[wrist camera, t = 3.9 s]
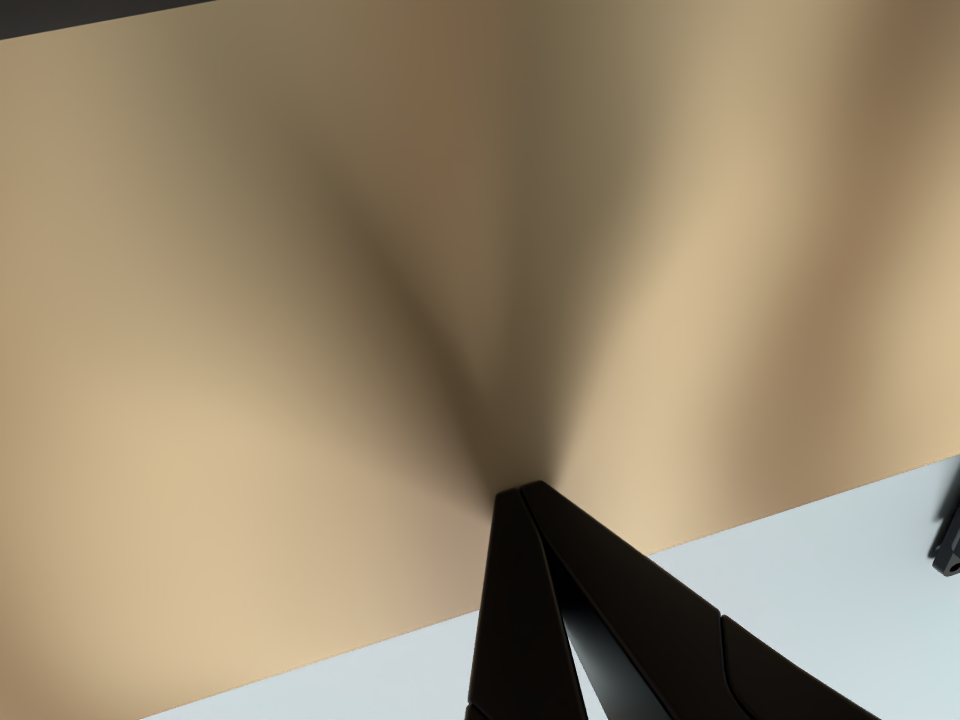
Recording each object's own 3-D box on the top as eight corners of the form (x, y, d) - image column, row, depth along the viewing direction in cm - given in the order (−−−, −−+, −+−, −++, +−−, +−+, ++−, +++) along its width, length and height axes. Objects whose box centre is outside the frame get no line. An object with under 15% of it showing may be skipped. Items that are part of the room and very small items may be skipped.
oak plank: (1101, -125, 7) (1276, -194, 6) (945, 400, 11) (1023, 433, 10) (-583, 200, 5) (-954, 215, 4) (-2, 693, 9) (-70, 786, 8)
